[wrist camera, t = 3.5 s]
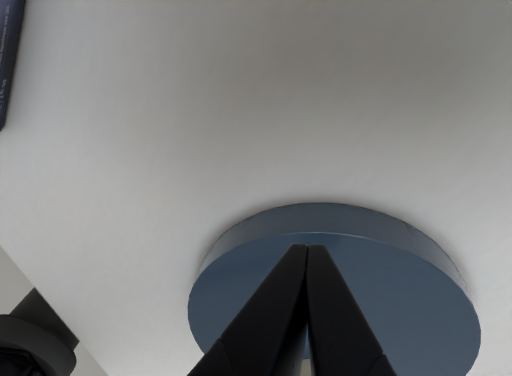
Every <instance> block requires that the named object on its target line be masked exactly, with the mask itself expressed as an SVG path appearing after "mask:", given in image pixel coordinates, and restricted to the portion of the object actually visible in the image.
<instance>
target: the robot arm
mask: <svg viewBox="0 0 512 376" xmlns="http://www.w3.org/2000/svg"><path fill="white" fill-rule="evenodd" d="M307 325H308V343H309V355H310V366H311V376H398V375H397V374H396V372H395V370H394V368H393V367H392V365H391V363H390V361H389V359H388V357H387V356H386V354H384V351H383V349H382V347H381V345H380V343H379V341H378V340H377V338H376V336H375V334H374V332H373V330H372V329H371V327H370V325H369V323H368V321H367V320H366V318H365V316H364V314H363V312H362V310H361V309H360V307H359V305H358V303H357V301H356V299H355V298H354V296H353V294H352V292H351V290H350V289H349V287H348V285H347V283H346V281H345V279H344V278H343V276H342V274H341V272H340V270H339V269H338V267H337V265H336V263H335V261H334V259H333V258H332V256H331V254H330V252H329V250H328V248H327V247H326V245H324V244H310V245H309V247H308V244H305V243H293V244H291V245H290V247H289V248H288V249H287V250H286V252H285V253H284V254H283V256H282V257H281V258H280V259H279V261H278V262H277V263H276V265H275V266H274V267H273V268H272V270H271V271H270V272H269V273H268V275H267V276H266V277H265V279H264V280H263V281H262V282H261V284H260V285H259V286H258V288H257V289H256V290H255V291H254V293H253V294H252V295H251V296H250V298H249V299H248V300H247V302H246V303H245V304H244V305H243V307H242V308H241V309H240V311H239V312H238V313H237V314H236V316H235V317H234V318H233V319H232V321H231V322H230V323H229V325H228V326H227V327H226V328H225V330H224V331H223V332H222V334H221V335H220V338H217V340H216V341H215V342H214V344H213V345H212V346H211V347H210V349H209V350H208V351H207V352H206V354H205V355H204V356H203V357H202V358H201V360H200V361H199V362H198V363H197V364H196V366H195V367H194V368H193V369H192V370H191V371H190V373H189V374H188V375H187V376H300V372H301V366H302V360H303V354H304V348H305V342H306V335H307ZM0 376H47V375H46V374H45V372H44V371H43V370H42V368H41V367H40V365H39V364H38V363H37V361H36V360H35V359H34V357H33V356H32V355H31V353H30V352H28V351H27V350H23V349H15V348H7V347H0Z"/></svg>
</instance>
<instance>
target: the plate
mask: <svg viewBox="0 0 512 376" xmlns="http://www.w3.org/2000/svg"><path fill="white" fill-rule="evenodd" d="M293 243H305V244H308V247H309V245H310V244H324V245H326V247H327V248H328V250H329V252H330V254H331V256H332V258H333V259H334V261H335V263H336V265H337V267H338V269H339V270H340V272H341V274H342V276H343V278H344V279H345V281H346V283H347V285H348V287H349V289H350V290H351V292H352V294H353V296H354V298H355V299H356V301H357V303H358V305H359V307H360V309H361V310H362V312H363V314H364V316H365V318H366V320H367V321H368V323H369V325H370V327H371V329H372V330H373V332H374V334H375V336H376V338H377V340H378V341H379V343H380V345H381V347H382V349H383V351H384V354H386V356H387V357H388V359H389V361H390V363H391V365H392V367H393V368H394V370H395V372H396V374H397V375H398V376H465V375H466V374H467V373H468V372H469V370H470V369H471V368H472V366H473V364H474V362H475V360H476V358H477V356H478V352H479V348H480V343H481V329H480V324H479V320H478V316H477V313H476V311H475V309H474V306H473V304H472V302H471V299H470V297H469V295H468V292H467V290H466V287H465V285H464V283H463V280H462V278H461V276H460V274H459V272H458V270H457V268H456V266H455V265H454V263H453V262H452V261H451V259H450V258H449V256H448V255H447V254H446V253H445V252H444V251H443V250H442V249H441V248H440V247H439V246H438V245H437V244H436V243H435V242H434V241H433V240H431V239H430V238H429V237H427V236H426V235H425V234H423V233H422V232H421V231H419V230H417V229H415V228H414V227H412V226H410V225H408V224H406V223H405V222H403V221H400V220H398V219H396V218H393V217H391V216H388V215H386V214H383V213H380V212H376V211H373V210H369V209H366V208H361V207H356V206H350V205H344V204H331V203H306V204H296V205H289V206H283V207H278V208H275V209H271V210H267V211H264V212H261V213H259V214H256V215H254V216H251V217H249V218H247V219H245V220H243V221H242V222H240V223H238V224H236V225H235V226H233V227H232V228H230V229H229V230H228V231H227V232H225V233H224V234H223V235H222V236H221V237H220V238H219V239H218V240H217V241H216V242H215V243H214V245H213V246H212V247H211V249H210V250H209V252H208V254H207V255H206V257H205V259H204V262H203V264H202V266H201V269H200V271H199V273H198V276H197V278H196V280H195V283H194V285H193V287H192V290H191V293H190V295H189V301H188V320H189V325H190V329H191V331H192V334H193V336H194V339H195V341H196V342H197V344H198V346H199V347H200V349H201V350H202V352H203V353H204V354H206V352H207V351H208V350H209V349H210V347H211V346H212V345H213V344H214V342H215V341H216V340H217V338H220V335H221V334H222V332H223V331H224V330H225V328H226V327H227V326H228V325H229V323H230V322H231V321H232V319H233V318H234V317H235V316H236V314H237V313H238V312H239V311H240V309H241V308H242V307H243V305H244V304H245V303H246V302H247V300H248V299H249V298H250V296H251V295H252V294H253V293H254V291H255V290H256V289H257V288H258V286H259V285H260V284H261V282H262V281H263V280H264V279H265V277H266V276H267V275H268V273H269V272H270V271H271V270H272V268H273V267H274V266H275V265H276V263H277V262H278V261H279V259H280V258H281V257H282V256H283V254H284V253H285V252H286V250H287V249H288V248H289V247H290V245H291V244H293ZM303 359H310V355H309V343H308V325H307V335H306V342H305V348H304V354H303Z"/></svg>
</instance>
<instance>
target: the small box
mask: <svg viewBox="0 0 512 376" xmlns="http://www.w3.org/2000/svg"><path fill="white" fill-rule="evenodd" d="M24 3H25V0H0V132H1V130H2V126H3V120H4V114H5V109H6V103H7V97H8V92H9V86H10V81H11V75H12V69H13V64H14V58H15V53H16V47H17V42H18V35H19V30H20V25H21V19H22V14H23V8H24Z"/></svg>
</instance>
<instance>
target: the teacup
mask: <svg viewBox="0 0 512 376" xmlns="http://www.w3.org/2000/svg"><path fill="white" fill-rule="evenodd" d="M300 376H311V366H310V359H303V360H302V366H301V372H300Z"/></svg>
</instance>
